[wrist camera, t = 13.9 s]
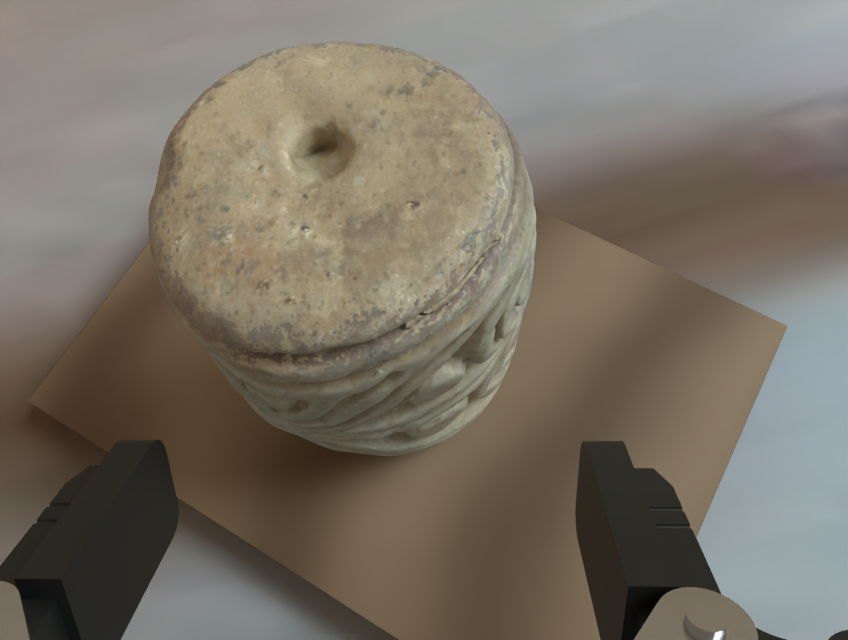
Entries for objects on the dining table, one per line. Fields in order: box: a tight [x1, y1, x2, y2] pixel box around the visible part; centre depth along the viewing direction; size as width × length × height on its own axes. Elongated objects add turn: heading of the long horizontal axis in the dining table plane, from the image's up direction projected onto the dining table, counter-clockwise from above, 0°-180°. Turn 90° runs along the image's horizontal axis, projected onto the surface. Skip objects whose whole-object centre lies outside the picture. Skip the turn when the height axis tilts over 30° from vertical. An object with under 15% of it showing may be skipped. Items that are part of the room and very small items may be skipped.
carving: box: [149, 42, 537, 456], centre depth 16 cm, size 6×8×12 cm
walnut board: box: [28, 208, 787, 640], centre depth 23 cm, size 20×14×2 cm
